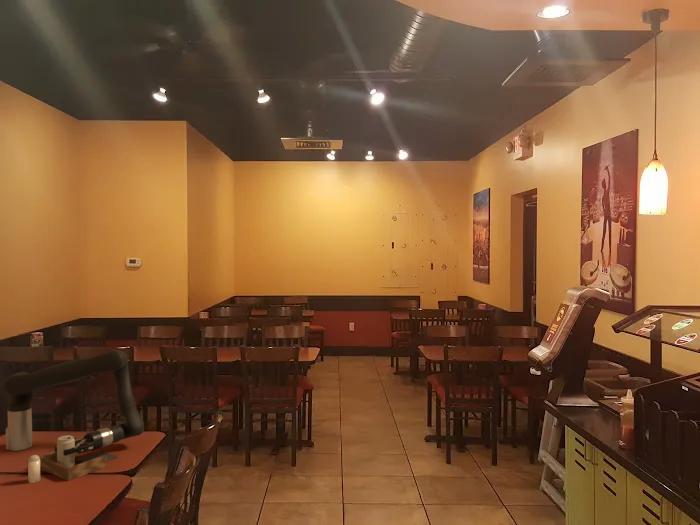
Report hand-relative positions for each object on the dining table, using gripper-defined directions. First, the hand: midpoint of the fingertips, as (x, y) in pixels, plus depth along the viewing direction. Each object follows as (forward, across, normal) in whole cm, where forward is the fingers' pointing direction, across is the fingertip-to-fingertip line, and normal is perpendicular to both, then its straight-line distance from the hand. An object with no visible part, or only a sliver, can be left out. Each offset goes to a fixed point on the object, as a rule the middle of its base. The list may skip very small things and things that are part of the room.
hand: (59, 451), depth 221 cm
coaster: (-16, 0, +8) cm, 18 cm away
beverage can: (-2, 0, +7) cm, 8 cm away
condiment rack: (-5, 0, +8) cm, 10 cm away
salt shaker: (+10, +1, +8) cm, 13 cm away
